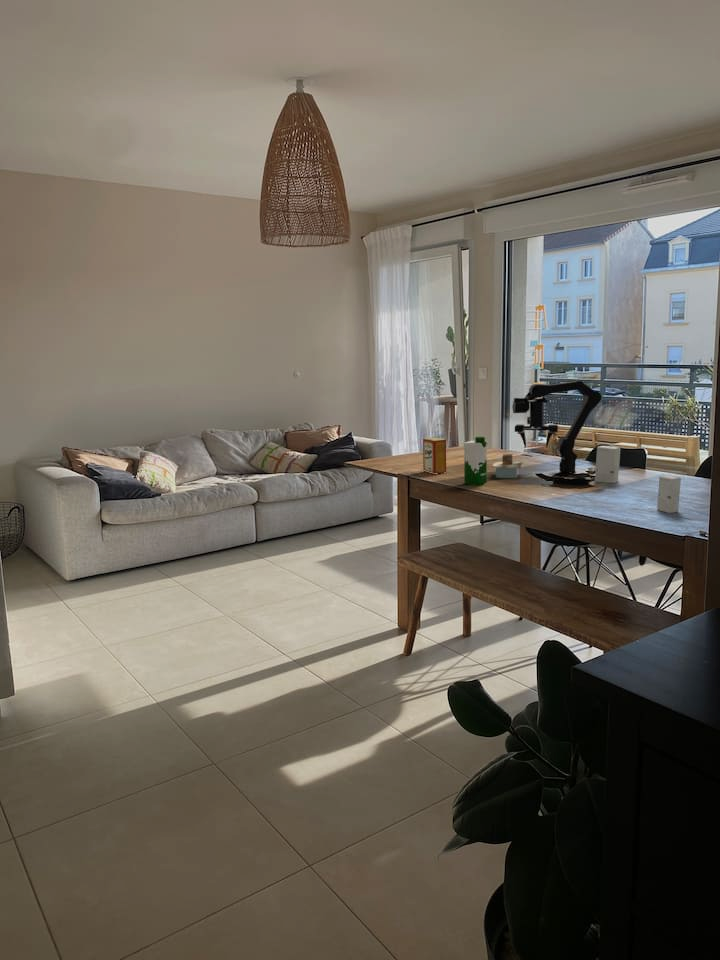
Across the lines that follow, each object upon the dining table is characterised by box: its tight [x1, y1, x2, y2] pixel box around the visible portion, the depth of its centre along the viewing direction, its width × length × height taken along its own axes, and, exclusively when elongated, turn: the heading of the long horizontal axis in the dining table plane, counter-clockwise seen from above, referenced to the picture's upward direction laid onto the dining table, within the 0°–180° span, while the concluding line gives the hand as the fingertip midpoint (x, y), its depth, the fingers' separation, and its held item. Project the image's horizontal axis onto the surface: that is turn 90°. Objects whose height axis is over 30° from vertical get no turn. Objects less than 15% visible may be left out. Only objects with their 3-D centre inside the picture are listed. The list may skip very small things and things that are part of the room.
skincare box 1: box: [594, 445, 621, 484], centre depth 315 cm, size 8×6×15 cm
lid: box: [492, 453, 523, 469], centre depth 333 cm, size 12×12×5 cm
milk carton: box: [462, 436, 489, 486], centre depth 320 cm, size 9×9×20 cm
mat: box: [517, 477, 554, 486], centre depth 321 cm, size 14×14×1 cm
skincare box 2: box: [656, 474, 682, 514], centre depth 261 cm, size 6×4×12 cm
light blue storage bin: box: [495, 468, 519, 479], centre depth 334 cm, size 9×9×5 cm
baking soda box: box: [422, 437, 447, 474], centre depth 350 cm, size 10×6×16 cm
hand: (536, 447), depth 338 cm, fingers open, 9 cm apart
